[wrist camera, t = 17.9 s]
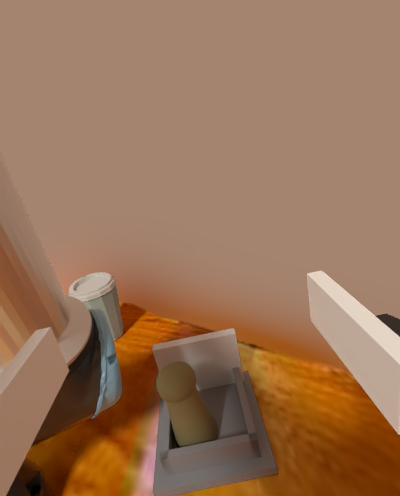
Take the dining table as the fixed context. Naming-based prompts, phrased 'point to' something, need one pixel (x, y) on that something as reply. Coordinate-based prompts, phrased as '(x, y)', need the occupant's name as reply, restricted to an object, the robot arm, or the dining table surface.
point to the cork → (185, 405)
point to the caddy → (223, 411)
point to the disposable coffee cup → (100, 298)
